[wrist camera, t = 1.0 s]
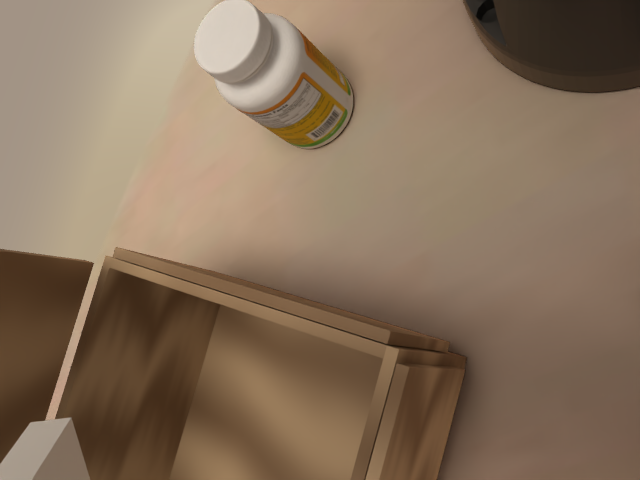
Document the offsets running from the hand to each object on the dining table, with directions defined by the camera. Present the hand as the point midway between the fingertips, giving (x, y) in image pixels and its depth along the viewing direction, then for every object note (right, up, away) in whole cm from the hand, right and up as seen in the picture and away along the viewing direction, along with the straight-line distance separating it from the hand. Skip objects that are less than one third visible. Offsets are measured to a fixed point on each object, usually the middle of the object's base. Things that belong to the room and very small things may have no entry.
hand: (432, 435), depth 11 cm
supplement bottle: (-2, +12, +27) cm, 30 cm away
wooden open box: (-4, -9, +23) cm, 25 cm away
